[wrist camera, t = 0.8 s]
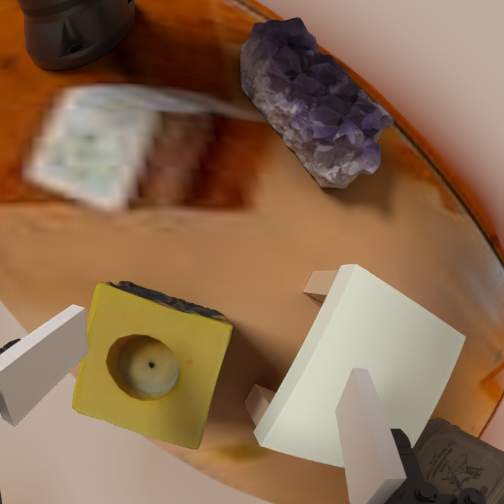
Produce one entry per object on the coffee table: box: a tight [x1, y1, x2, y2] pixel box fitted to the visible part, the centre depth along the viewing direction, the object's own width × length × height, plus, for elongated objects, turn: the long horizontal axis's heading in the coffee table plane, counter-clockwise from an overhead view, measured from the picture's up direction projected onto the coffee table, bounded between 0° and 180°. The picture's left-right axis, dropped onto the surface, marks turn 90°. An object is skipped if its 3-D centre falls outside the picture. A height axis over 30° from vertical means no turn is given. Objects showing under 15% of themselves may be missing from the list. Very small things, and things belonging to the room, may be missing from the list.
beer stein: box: [413, 418, 504, 504], centre depth 25 cm, size 15×10×20 cm
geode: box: [239, 17, 394, 189], centre depth 29 cm, size 20×12×10 cm, turn 42°
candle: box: [72, 281, 233, 449], centre depth 24 cm, size 10×10×10 cm
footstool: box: [244, 264, 466, 468], centre depth 28 cm, size 16×16×9 cm
